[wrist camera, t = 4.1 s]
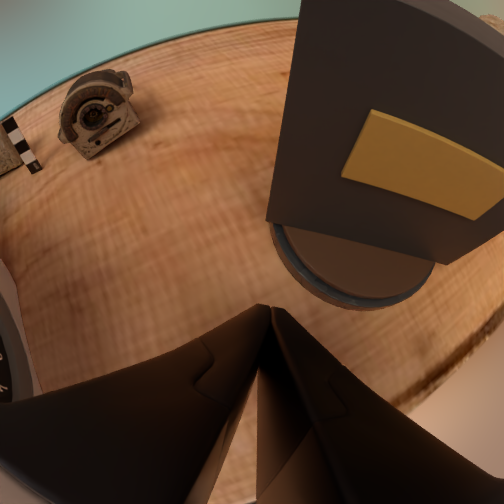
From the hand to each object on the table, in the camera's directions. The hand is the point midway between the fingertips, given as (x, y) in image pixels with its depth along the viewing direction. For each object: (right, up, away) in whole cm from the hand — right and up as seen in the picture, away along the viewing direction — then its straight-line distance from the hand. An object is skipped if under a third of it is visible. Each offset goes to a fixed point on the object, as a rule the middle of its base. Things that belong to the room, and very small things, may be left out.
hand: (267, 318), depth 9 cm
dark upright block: (+8, +5, +12) cm, 15 cm away
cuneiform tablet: (-28, +11, +14) cm, 34 cm away
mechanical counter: (-16, +16, +17) cm, 28 cm away
